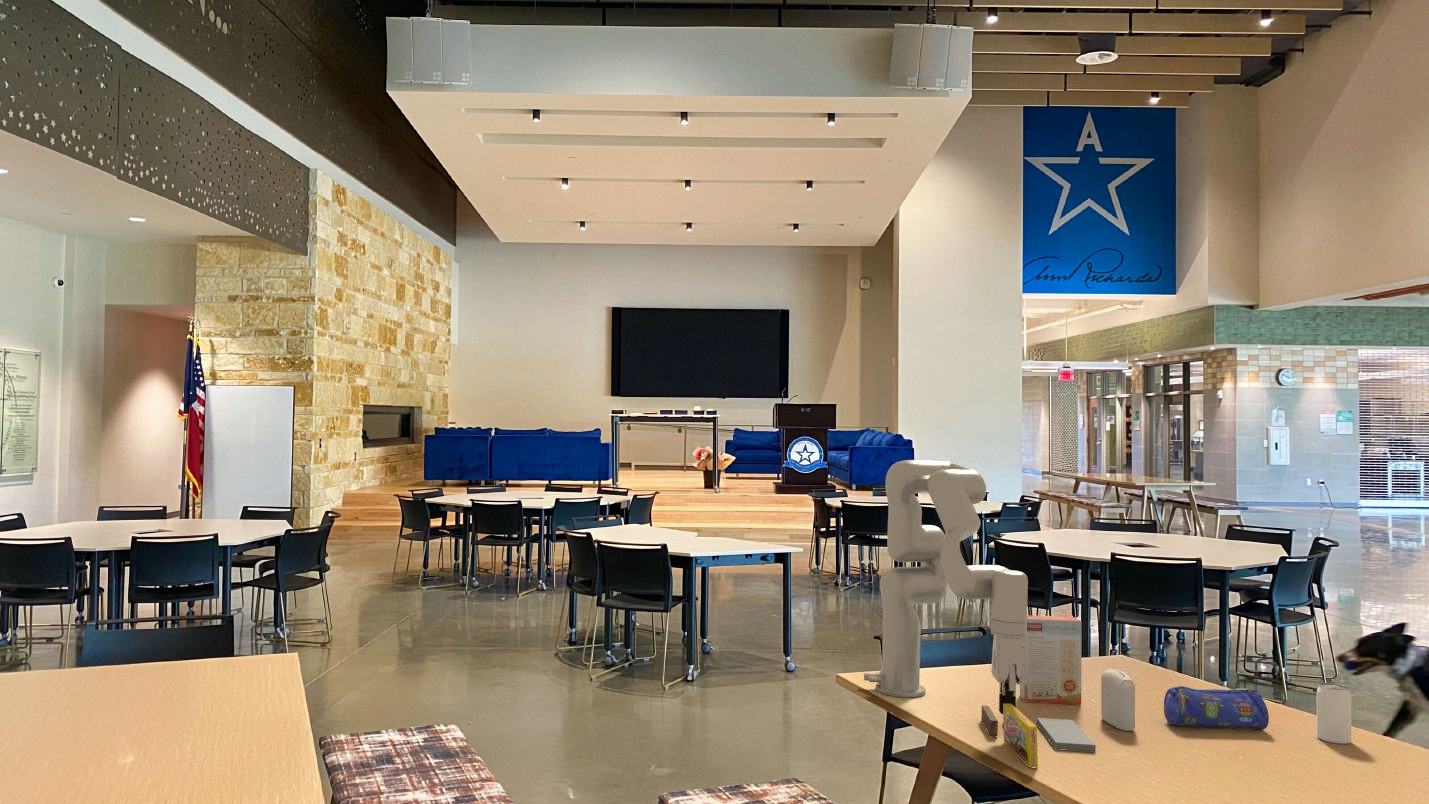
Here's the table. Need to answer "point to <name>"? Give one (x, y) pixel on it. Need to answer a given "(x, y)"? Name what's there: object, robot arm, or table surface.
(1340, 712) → the can
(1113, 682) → the photo printer
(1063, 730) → the grey plinth
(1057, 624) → the cracker box
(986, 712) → the walnut rack
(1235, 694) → the pencil case
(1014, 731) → the candy box
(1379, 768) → the table surface
